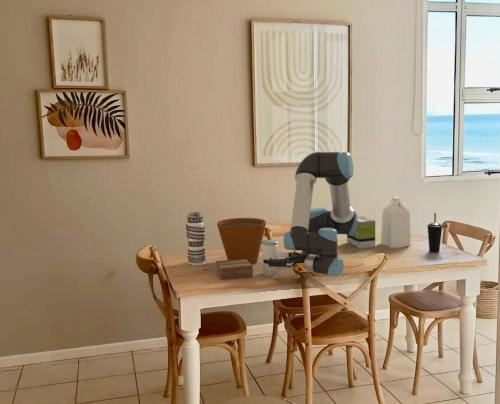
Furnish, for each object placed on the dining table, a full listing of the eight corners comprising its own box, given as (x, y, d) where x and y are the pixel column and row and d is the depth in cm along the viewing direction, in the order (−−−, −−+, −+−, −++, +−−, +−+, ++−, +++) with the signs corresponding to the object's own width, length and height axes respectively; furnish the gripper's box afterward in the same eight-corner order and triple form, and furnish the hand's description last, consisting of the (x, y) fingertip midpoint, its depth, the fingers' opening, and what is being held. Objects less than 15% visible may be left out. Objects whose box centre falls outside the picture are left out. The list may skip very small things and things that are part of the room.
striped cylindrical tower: (185, 261, 278) (183, 212, 275) (203, 259, 281) (201, 210, 278) (190, 266, 270) (187, 214, 266) (208, 264, 273) (206, 213, 269)
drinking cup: (445, 252, 284) (446, 213, 281) (433, 254, 281) (434, 214, 278) (435, 249, 291) (436, 211, 288) (423, 250, 288) (424, 212, 285)
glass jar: (261, 272, 255) (260, 240, 253) (276, 271, 257) (275, 239, 255) (264, 276, 248) (264, 243, 246) (280, 275, 250) (280, 242, 248)
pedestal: (216, 271, 258) (216, 261, 258) (246, 269, 261) (246, 258, 261) (221, 279, 245) (221, 268, 244) (252, 277, 248) (252, 266, 247)
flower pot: (276, 261, 275) (276, 221, 272) (241, 271, 258) (240, 228, 256) (243, 254, 292) (242, 216, 289) (208, 262, 275) (207, 222, 272)
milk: (410, 246, 300) (411, 198, 296) (391, 247, 297) (391, 199, 293) (399, 241, 311) (400, 195, 308) (380, 243, 309) (381, 196, 305)
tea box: (346, 243, 311) (346, 217, 309) (362, 241, 314) (362, 215, 312) (359, 248, 297) (359, 221, 295) (376, 247, 300) (376, 219, 298)
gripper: (292, 278, 230) (251, 270, 242) (323, 265, 249) (283, 258, 262) (292, 260, 228) (250, 253, 241) (323, 248, 248) (283, 243, 261)
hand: (268, 256), depth 252 cm, fingers open, 13 cm apart
